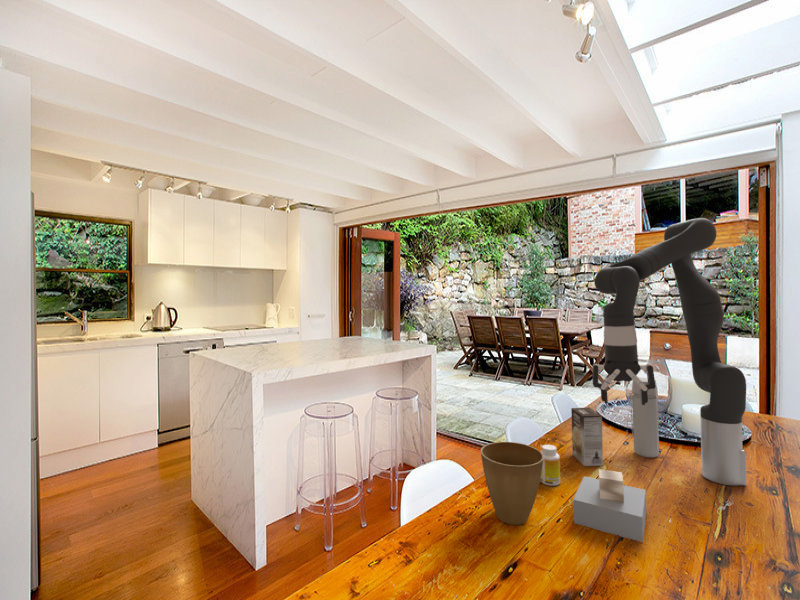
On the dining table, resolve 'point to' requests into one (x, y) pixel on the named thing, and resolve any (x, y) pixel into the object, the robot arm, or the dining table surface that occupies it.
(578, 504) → the slate block
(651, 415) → the water bottle
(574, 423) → the coffee box
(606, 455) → the dining table surface
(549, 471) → the supplement bottle
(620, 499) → the cream cube
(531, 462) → the plant pot
